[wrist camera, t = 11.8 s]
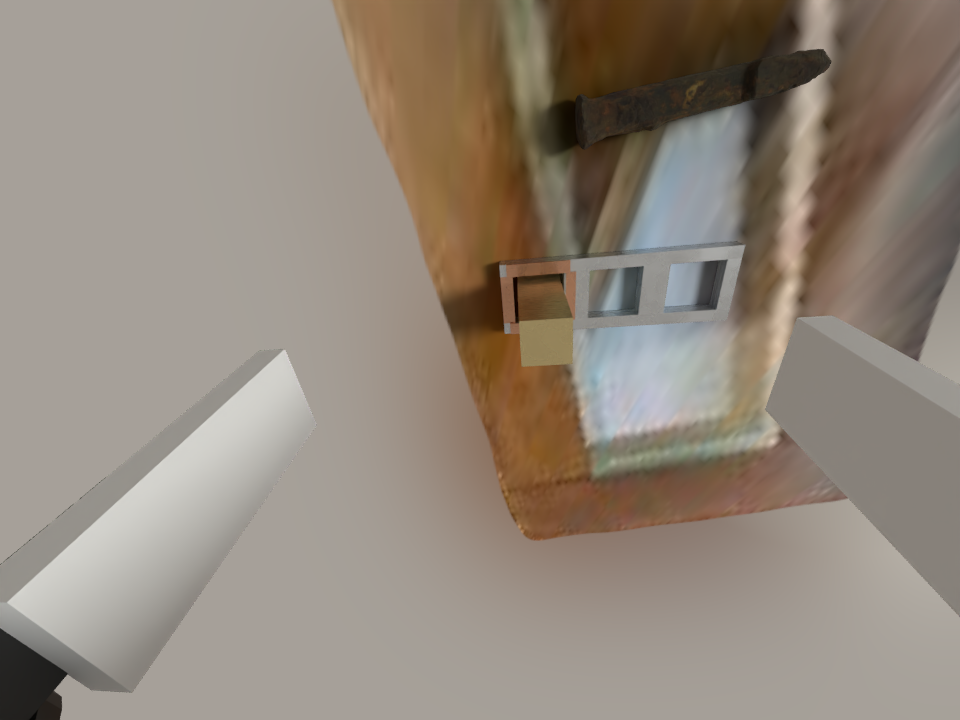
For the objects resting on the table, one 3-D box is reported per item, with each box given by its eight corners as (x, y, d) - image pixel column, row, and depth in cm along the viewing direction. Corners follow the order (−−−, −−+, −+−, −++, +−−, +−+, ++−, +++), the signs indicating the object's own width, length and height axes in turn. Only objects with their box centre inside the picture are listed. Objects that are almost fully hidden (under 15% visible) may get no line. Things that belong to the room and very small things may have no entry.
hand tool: (573, 149, 35) (581, 150, 31) (571, 97, 33) (580, 92, 29) (797, 108, 32) (837, 104, 28) (810, 49, 30) (855, 36, 26)
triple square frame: (499, 261, 40) (499, 266, 39) (736, 241, 37) (746, 245, 36) (505, 327, 44) (504, 334, 43) (719, 314, 41) (727, 320, 40)
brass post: (517, 276, 41) (518, 321, 31) (557, 272, 40) (573, 317, 30) (519, 312, 43) (521, 366, 33) (557, 310, 43) (572, 363, 32)
